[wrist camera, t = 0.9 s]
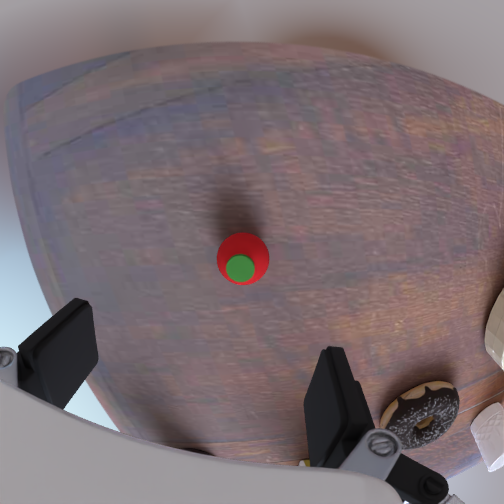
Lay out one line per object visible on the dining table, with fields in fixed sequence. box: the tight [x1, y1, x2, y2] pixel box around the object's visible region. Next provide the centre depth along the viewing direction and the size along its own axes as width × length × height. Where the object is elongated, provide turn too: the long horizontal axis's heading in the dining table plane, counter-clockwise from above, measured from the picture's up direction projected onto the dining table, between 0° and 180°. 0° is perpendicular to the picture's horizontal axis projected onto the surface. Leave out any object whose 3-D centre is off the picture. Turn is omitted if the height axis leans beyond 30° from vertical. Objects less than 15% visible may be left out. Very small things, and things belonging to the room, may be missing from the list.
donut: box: [380, 381, 460, 450], centre depth 28 cm, size 11×12×4 cm
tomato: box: [217, 233, 269, 285], centre depth 23 cm, size 4×4×4 cm
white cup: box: [471, 402, 504, 472], centre depth 26 cm, size 8×8×10 cm
